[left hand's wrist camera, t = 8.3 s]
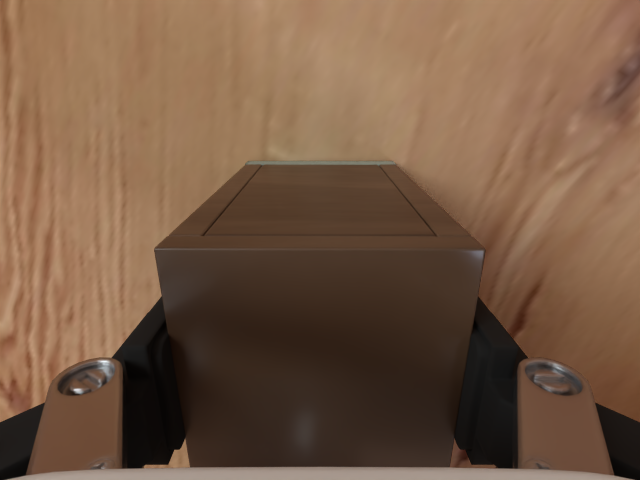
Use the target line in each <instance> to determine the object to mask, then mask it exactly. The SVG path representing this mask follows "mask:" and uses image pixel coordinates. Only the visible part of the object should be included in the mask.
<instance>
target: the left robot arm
mask: <svg viewBox="0 0 640 480" xmlns="http://www.w3.org/2000/svg"><path fill="white" fill-rule="evenodd" d="M185 437H186V436H185V430H184V424H183V418H182V412H181V406H180V400H179V394H178V387H177V381H176V375H175V369H174V363H173V357H172V351H171V345H170V339H169V334H168V330H167V324H166V318H165V312H164V306H163V300H162V297H161V298H160V299H159V300H158V302H157V303H156V304H155V305H154V307H153V308H152V309H151V310H150V312H149V313H147V315H146V316H145V317H144V318H143V320H142V321H141V322H140V323H139V325H138V326H137V327H136V328H135V329H134V331H133V332H132V333H131V334H130V336H129V337H128V338H127V339H126V341H125V342H124V343H123V344H122V346H121V347H120V348H119V349H118V351H117V352H116V353H115V354H114V356H113V357H112V358H94V359H89V360H85V361H82V362H79V363H77V364H75V365H73V366H71V367H69V368H67V369H66V370H64V371H63V372H61V373H60V374H59V375H58V376H57V377H56V378H55V379H54V380H53V381H52V383H51V385H50V387H49V390H48V393H47V397H46V401H45V403H43V404H41V405H38V406H36V407H34V408H32V409H29V410H27V411H25V412H23V413H20V414H18V415H16V416H14V417H11V418H9V419H7V420H5V421H2V422H0V480H640V422H637V421H635V420H633V419H631V418H628V417H626V416H624V415H622V414H619V413H617V412H615V411H613V410H610V409H608V408H606V407H604V406H601V405H599V404H597V403H595V401H594V397H593V393H592V390H591V387H590V385H589V383H588V381H587V380H586V379H585V378H584V377H583V376H582V375H581V374H580V373H579V372H577V371H576V370H574V369H573V368H571V367H569V366H567V365H565V364H563V363H561V362H558V361H555V360H551V359H546V358H528V357H527V356H526V355H525V354H524V352H523V351H522V350H521V349H520V347H519V346H518V345H517V344H516V342H515V341H514V340H513V339H512V337H511V336H510V335H509V334H508V332H507V331H506V330H505V329H504V327H503V326H502V325H501V324H500V322H499V321H498V320H497V319H496V317H495V316H494V315H493V314H492V313H491V312H490V311H489V309H488V308H487V307H486V306H485V304H484V303H483V302H482V301H481V299H480V298H479V297H478V299H477V305H476V311H475V317H474V323H473V329H472V335H471V340H470V346H469V352H468V358H467V364H466V370H465V376H464V382H463V388H462V394H461V400H460V406H459V412H458V418H457V424H456V430H455V436H454V438H455V440H456V443H457V445H458V447H459V449H461V450H466V452H467V455H468V457H469V460H470V462H471V464H472V465H493V464H494V465H496V468H448V467H191V468H144V465H168V464H169V461H170V459H171V457H172V454H173V452H174V450H179V449H180V448H181V447H182V445H183V442H184V440H185Z"/></svg>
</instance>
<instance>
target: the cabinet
mask: <svg viewBox="0 0 640 480" xmlns="http://www.w3.org/2000/svg"><path fill="white" fill-rule="evenodd" d="M154 252H155V258H156V264H157V270H158V276H159V282H160V288H161V294H162V300H163V306H164V312H165V318H166V324H167V330H168V334H169V339H170V345H171V351H172V357H173V363H174V369H175V375H176V381H177V387H178V394H179V400H180V406H181V412H182V418H183V424H184V430H185V436H186V437H185V439H186V445H187V451H188V457H189V463H190V468H191V467H448V468H449V467H450V461H451V455H452V449H453V443H454V436H455V430H456V424H457V418H458V412H459V406H460V400H461V394H462V388H463V382H464V376H465V370H466V364H467V358H468V352H469V346H470V340H471V335H472V329H473V323H474V317H475V311H476V305H477V299H478V293H479V286H480V280H481V274H482V268H483V262H484V256H485V248H484V247H483V246H482V245H481V244H480V243H479V242H478V241H477V240H476V239H474V238H473V237H471V235H470V234H469V233H468V232H467V231H466V230H465V229H464V228H463V227H462V226H461V225H459V224H458V223H457V222H456V221H455V220H454V219H453V218H452V217H451V216H450V215H449V214H448V213H447V212H446V211H445V210H443V209H442V208H441V207H440V206H439V205H438V204H437V203H436V202H435V201H434V200H433V199H432V198H431V197H430V196H428V195H427V194H426V193H425V192H424V191H423V190H422V189H421V188H420V187H419V186H418V185H417V184H416V183H415V182H414V181H412V180H411V179H410V178H409V177H408V176H407V175H406V174H405V173H404V172H403V171H402V170H401V169H400V168H399V167H398V166H396V164H395V163H394V162H393V161H248V162H247V163H246V164H245V166H244V167H242V168H241V169H240V170H239V171H238V172H237V173H236V174H235V175H234V176H233V177H232V178H231V179H229V180H228V181H227V182H226V183H225V184H224V185H223V186H222V187H221V188H220V189H219V190H217V191H216V192H215V193H214V194H213V195H212V196H211V197H210V198H209V199H208V200H207V201H205V202H204V203H203V204H202V205H201V206H200V207H199V208H198V209H197V210H196V211H195V212H193V213H192V214H191V215H190V216H189V217H188V218H187V219H186V220H185V221H184V222H183V223H181V224H180V225H179V226H178V227H177V228H176V229H175V230H174V231H173V232H172V233H171V234H170V235H169V236H167V237H166V238H165V239H164V240H163V241H162V242H161V243H159V244H158V245H157V246H156V247H155V249H154Z"/></svg>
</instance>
